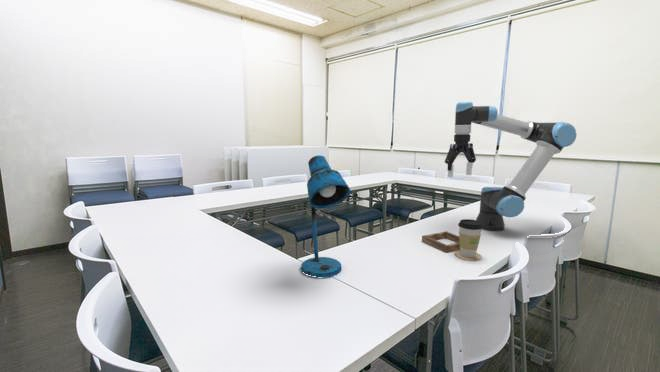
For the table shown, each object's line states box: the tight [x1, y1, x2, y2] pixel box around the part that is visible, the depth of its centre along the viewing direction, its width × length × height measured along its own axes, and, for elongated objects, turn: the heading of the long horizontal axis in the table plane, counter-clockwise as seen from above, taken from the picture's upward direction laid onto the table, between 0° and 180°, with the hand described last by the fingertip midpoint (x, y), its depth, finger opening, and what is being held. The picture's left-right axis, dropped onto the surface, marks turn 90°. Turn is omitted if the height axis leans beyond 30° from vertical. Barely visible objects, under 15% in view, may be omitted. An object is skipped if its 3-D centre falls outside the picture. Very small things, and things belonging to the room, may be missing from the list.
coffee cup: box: [457, 218, 483, 258], centre depth 140 cm, size 10×10×15 cm
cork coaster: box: [454, 250, 482, 262], centre depth 142 cm, size 11×11×1 cm
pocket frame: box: [421, 231, 460, 254], centre depth 155 cm, size 16×16×3 cm
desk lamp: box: [300, 155, 351, 278], centre depth 122 cm, size 16×22×45 cm
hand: (459, 176), depth 164 cm, fingers open, 13 cm apart
